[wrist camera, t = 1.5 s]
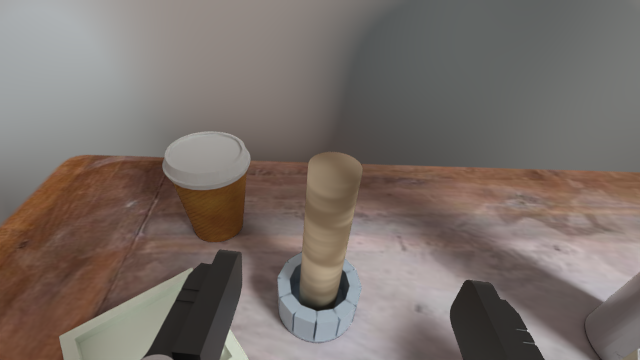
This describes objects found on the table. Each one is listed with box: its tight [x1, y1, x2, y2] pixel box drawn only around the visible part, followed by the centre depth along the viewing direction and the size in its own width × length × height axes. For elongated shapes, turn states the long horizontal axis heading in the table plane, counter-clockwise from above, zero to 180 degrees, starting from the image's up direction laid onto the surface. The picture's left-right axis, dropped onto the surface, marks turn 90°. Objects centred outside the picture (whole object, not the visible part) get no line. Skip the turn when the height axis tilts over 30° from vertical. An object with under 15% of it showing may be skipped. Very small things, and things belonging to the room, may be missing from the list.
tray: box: [59, 268, 248, 360], centre depth 28 cm, size 12×12×2 cm
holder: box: [278, 252, 362, 343], centre depth 33 cm, size 8×8×4 cm
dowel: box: [299, 152, 363, 311], centre depth 28 cm, size 4×4×18 cm
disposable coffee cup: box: [162, 132, 250, 242], centre depth 38 cm, size 10×10×12 cm
